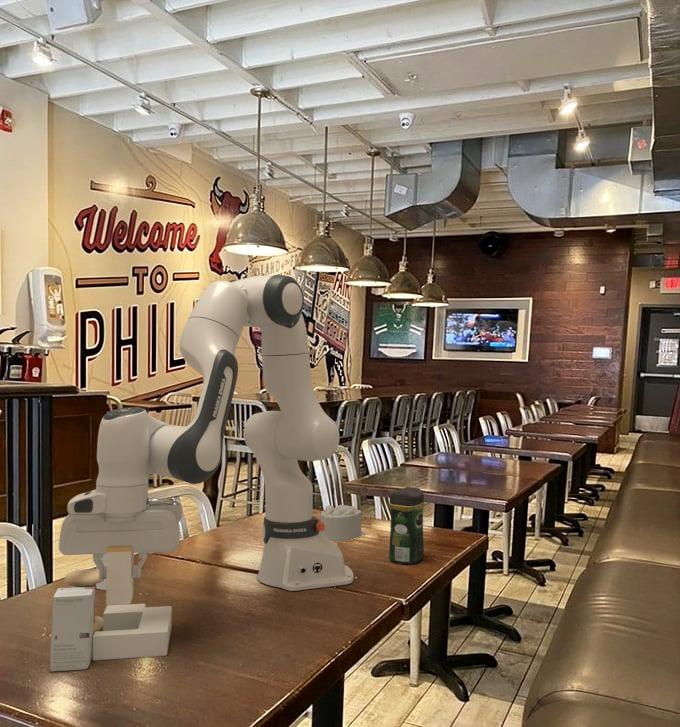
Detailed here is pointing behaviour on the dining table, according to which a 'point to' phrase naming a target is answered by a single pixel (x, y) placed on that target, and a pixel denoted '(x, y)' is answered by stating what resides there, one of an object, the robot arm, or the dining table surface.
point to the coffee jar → (406, 525)
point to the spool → (86, 580)
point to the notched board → (133, 632)
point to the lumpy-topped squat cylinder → (341, 522)
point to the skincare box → (72, 628)
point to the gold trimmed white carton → (119, 575)
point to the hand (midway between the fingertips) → (120, 577)
